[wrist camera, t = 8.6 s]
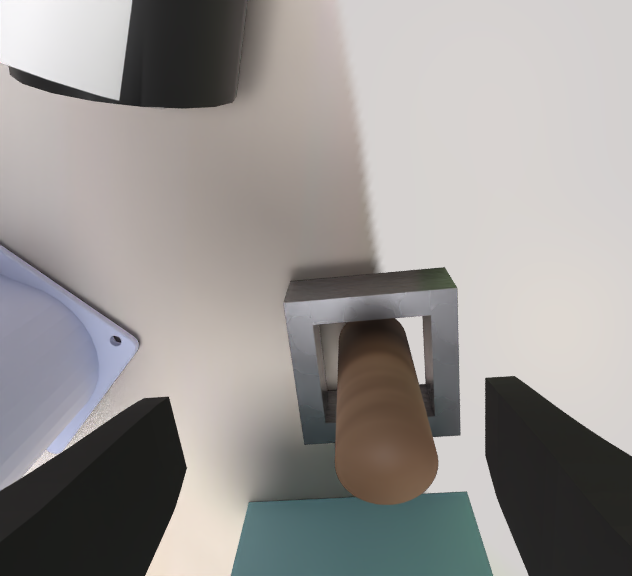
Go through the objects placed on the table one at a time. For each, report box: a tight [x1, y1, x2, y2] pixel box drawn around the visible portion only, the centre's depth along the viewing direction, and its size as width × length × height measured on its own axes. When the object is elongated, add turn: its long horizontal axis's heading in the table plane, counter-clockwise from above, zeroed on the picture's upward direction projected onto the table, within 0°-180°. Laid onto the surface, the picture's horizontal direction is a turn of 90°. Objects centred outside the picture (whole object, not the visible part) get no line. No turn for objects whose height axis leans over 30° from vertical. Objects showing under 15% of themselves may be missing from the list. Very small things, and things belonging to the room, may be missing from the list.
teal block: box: [231, 492, 493, 576], centre depth 19 cm, size 11×5×11 cm, turn 97°
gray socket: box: [283, 267, 460, 445], centre depth 21 cm, size 6×6×2 cm
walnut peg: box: [335, 318, 438, 505], centre depth 18 cm, size 3×3×8 cm
